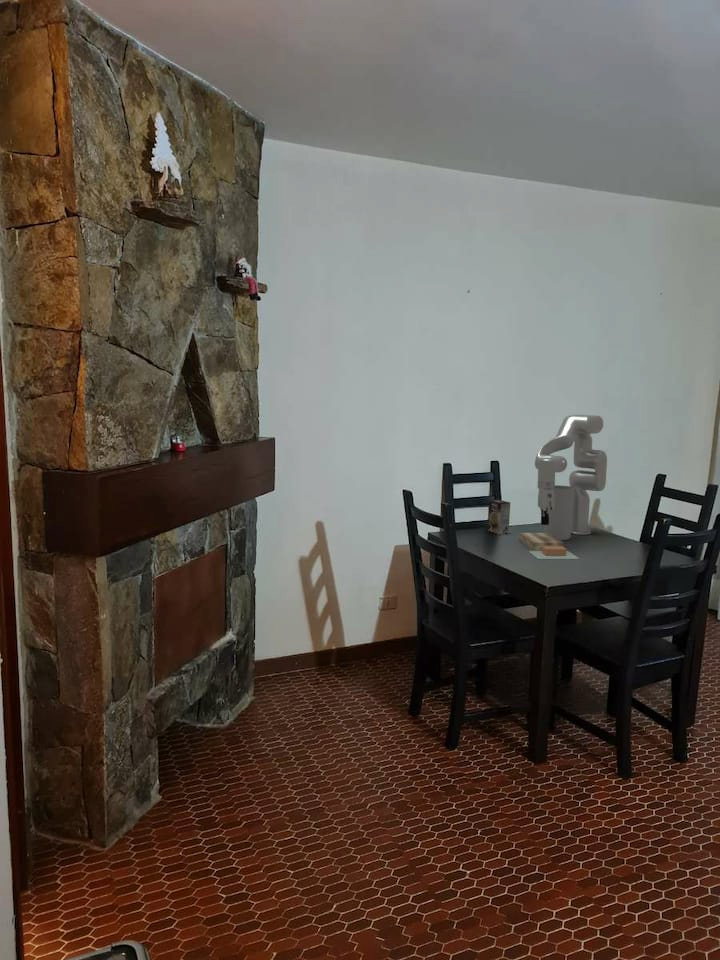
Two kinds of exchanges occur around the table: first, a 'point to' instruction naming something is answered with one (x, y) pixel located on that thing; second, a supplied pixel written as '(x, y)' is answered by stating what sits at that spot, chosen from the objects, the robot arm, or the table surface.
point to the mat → (541, 556)
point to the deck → (539, 540)
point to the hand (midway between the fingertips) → (544, 524)
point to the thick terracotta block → (554, 550)
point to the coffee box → (499, 516)
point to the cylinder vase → (561, 513)
